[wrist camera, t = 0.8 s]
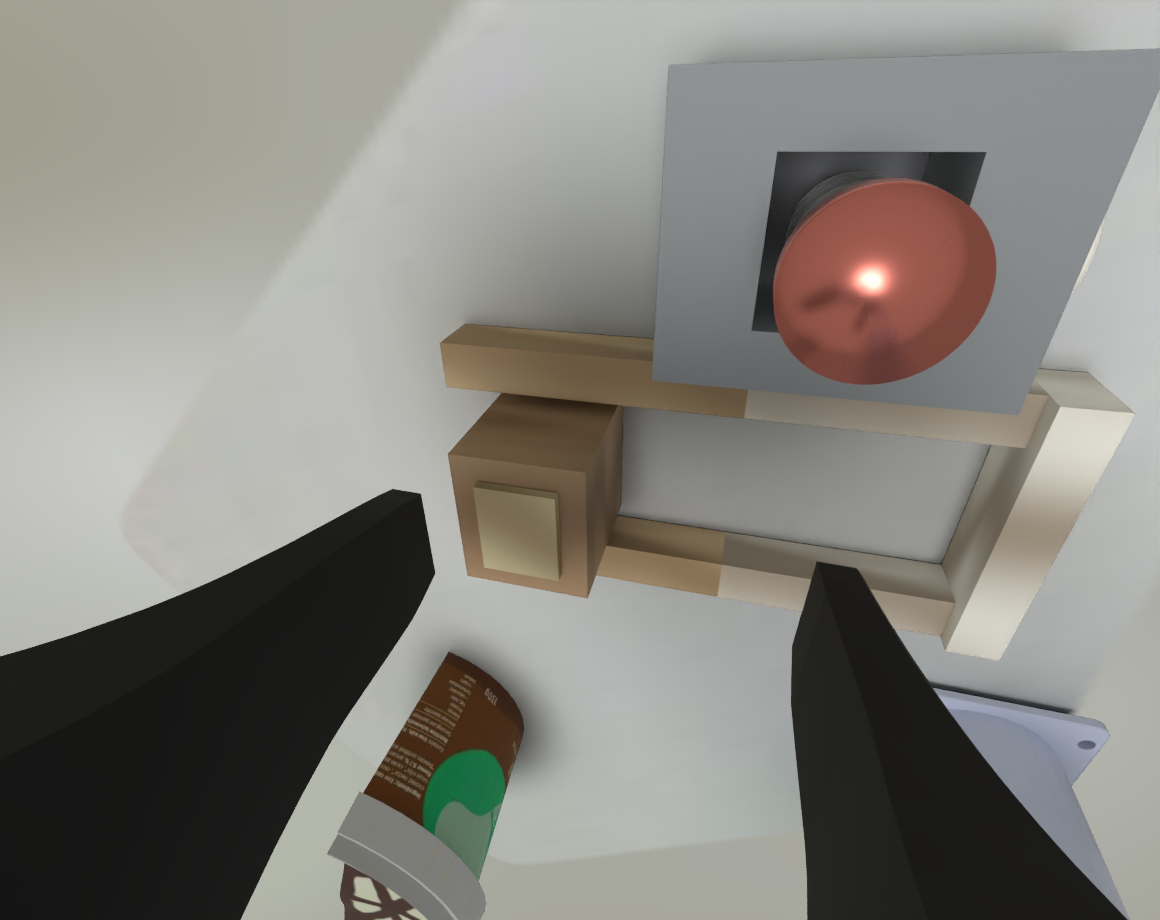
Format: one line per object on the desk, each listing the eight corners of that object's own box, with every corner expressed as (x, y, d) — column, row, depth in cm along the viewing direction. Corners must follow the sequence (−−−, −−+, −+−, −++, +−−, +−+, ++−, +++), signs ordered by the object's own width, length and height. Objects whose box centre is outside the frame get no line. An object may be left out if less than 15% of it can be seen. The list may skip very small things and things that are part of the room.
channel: (976, 604, 20) (998, 660, 18) (489, 525, 24) (465, 563, 22) (1088, 372, 15) (1135, 413, 13) (464, 324, 20) (430, 349, 18)
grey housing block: (974, 349, 16) (1029, 416, 12) (673, 328, 18) (651, 380, 14) (1080, 60, 12) (1192, 47, 9) (691, 71, 14) (668, 64, 11)
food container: (522, 795, 35) (448, 1006, 27) (430, 756, 36) (330, 951, 28) (567, 680, 28) (485, 919, 20) (451, 634, 29) (326, 848, 21)
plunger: (902, 307, 14) (956, 393, 10) (762, 299, 14) (760, 375, 11) (945, 155, 12) (1031, 185, 8) (784, 155, 13) (791, 181, 9)
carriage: (621, 504, 22) (584, 605, 17) (521, 489, 23) (463, 582, 18) (623, 393, 19) (583, 478, 15) (511, 381, 20) (442, 459, 16)
